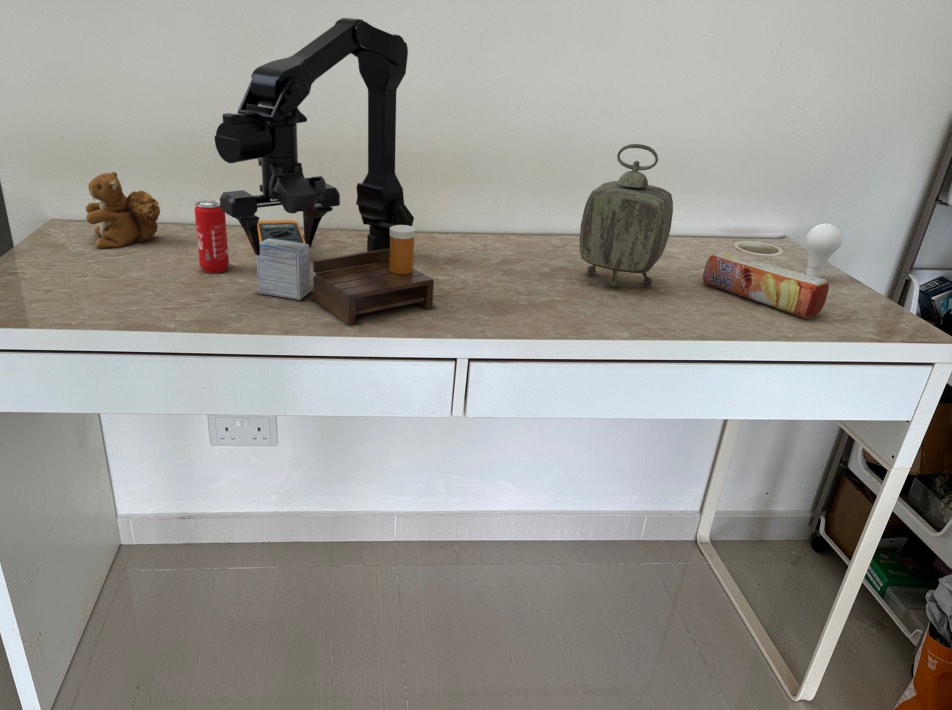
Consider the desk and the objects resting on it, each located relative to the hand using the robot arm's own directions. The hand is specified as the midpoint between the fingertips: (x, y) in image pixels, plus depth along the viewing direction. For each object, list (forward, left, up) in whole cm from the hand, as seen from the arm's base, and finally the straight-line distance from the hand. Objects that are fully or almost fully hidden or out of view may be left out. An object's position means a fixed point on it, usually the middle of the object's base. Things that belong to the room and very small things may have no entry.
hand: (283, 251), depth 128 cm
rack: (-11, +11, -8) cm, 17 cm away
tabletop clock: (-56, +23, -8) cm, 61 cm away
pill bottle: (-16, +11, -2) cm, 20 cm away
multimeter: (-10, -23, -8) cm, 26 cm away
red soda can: (+6, -17, -8) cm, 20 cm away
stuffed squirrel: (+15, -41, -8) cm, 44 cm away
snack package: (-74, +41, -8) cm, 85 cm away
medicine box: (0, 0, -8) cm, 8 cm away
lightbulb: (-94, +39, -8) cm, 102 cm away
